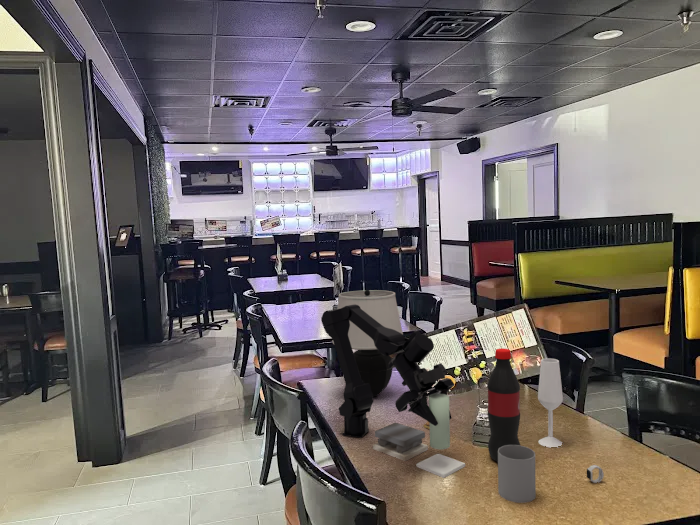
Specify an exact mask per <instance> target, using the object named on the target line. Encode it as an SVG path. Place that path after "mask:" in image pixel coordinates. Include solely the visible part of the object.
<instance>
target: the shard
mask: <svg viewBox="0 0 700 525" xmlns="http://www.w3.org/2000/svg"><path fill="white" fill-rule="evenodd" d="M422 426H423V428H424V429H428V430H430V425H429V422H428V421H427V420H426V422H425V423H423V425H422Z"/></svg>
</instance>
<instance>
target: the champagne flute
mask: <svg viewBox="0 0 700 525" xmlns="http://www.w3.org/2000/svg"><path fill="white" fill-rule="evenodd" d="M560 367H561V366H560V360H558V359H556V358H550V357H548V358H542V359H541V360H540V369H539V381H538V389H537V390H538V392H537V399H538V402H539V403H540V404H541V405H542V406H543V407H544V408H545V409H546V410H547V413H548V414H547V420H548V422H547V423H548V426H547V428H548V430H547V432H548V434H547V436H544V437H542V438H540V439H539V440H538V444H539V445H541V446H543V447H545V446H546V448H551V447H557V448H559V447H558V446H561V445H562V443H563V442H562V441H561V440H559V438H556V437H554V434H553V433H554V431H553V428H554V425H553V416H554V414H553V412H554V411H553V410H555V409H557V408H558V407H559V406H560V405H561V404H562V403H563V401H564V397H563V387H562V379H561V378H562V377H561V369H560ZM561 447H562V446H561Z"/></svg>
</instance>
